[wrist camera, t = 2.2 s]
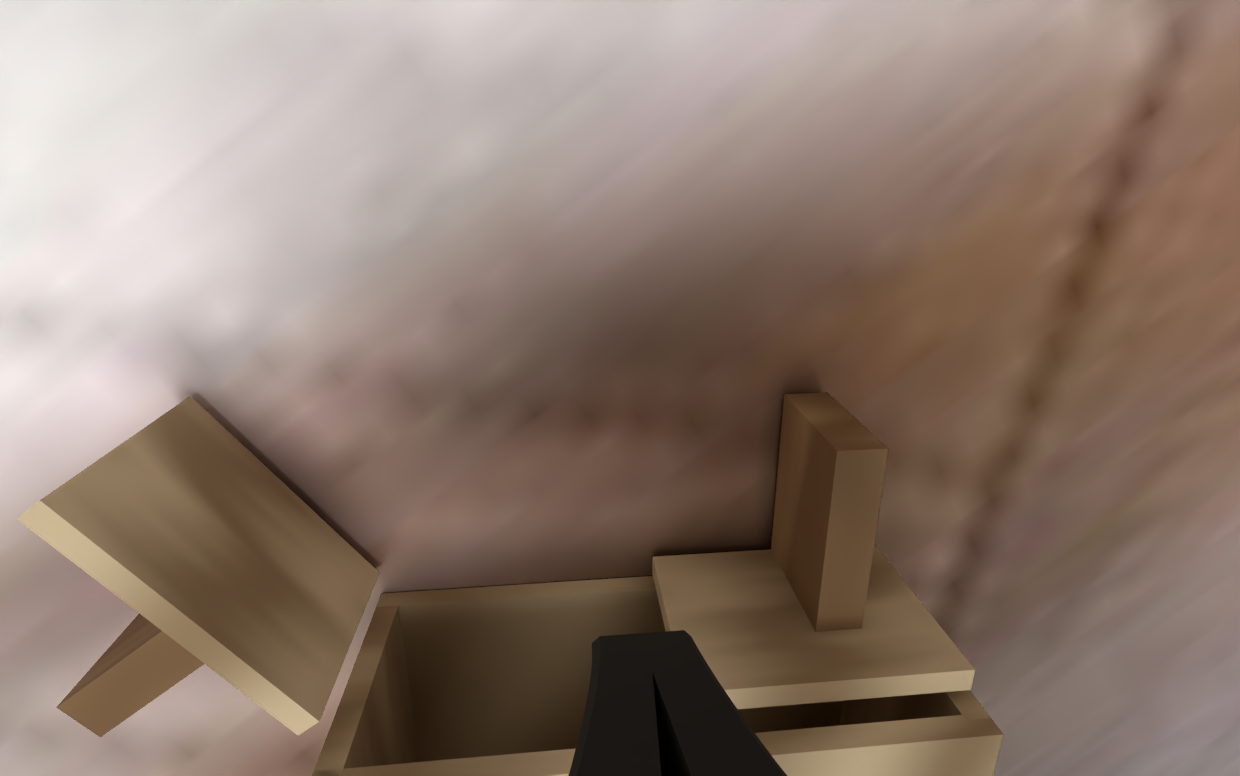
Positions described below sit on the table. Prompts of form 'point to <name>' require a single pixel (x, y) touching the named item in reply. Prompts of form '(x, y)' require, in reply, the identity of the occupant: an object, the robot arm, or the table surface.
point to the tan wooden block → (206, 573)
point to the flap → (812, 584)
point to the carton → (558, 688)
